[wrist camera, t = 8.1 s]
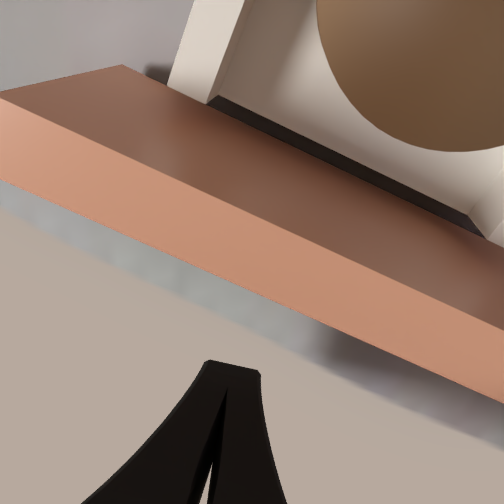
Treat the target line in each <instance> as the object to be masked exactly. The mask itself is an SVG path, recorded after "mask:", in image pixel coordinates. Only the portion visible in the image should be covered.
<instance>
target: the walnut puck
mask: <svg viewBox="0 0 504 504" xmlns="http://www.w3.org/2000/svg"><path fill="white" fill-rule="evenodd" d="M316 15H317V26H318V31H319V36H320V40H321V44H322V47H323V50H324V53H325V56H326V58H327V61H328V64H329V66H330V69H331V71H332V73H333V75H334V77H335V79H336V81H337V83H338V85H339V87H340V89H341V90H342V91H343V93H344V94H345V96H346V97H347V99H348V100H349V101H350V103H351V104H352V105H353V106H354V107H355V108H356V109H357V111H358V112H359V113H360V114H361V115H362V116H363V117H364V118H365V119H367V120H368V121H369V122H370V123H372V124H373V125H374V126H375V127H377V128H378V129H380V130H381V131H383V132H385V133H386V134H388V135H390V136H391V137H393V138H395V139H398V140H400V141H402V142H405V143H407V144H410V145H413V146H417V147H420V148H424V149H428V150H436V151H443V152H470V151H478V150H487V149H491V148H495V147H499V146H503V145H504V0H316Z"/></svg>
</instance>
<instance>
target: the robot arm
mask: <svg viewBox="0 0 504 504" xmlns="http://www.w3.org/2000/svg"><path fill="white" fill-rule="evenodd" d="M212 462H213V463H212ZM211 465H212V470H211V478H210V485H209V492H208V500H207V504H287V502H286V499H285V496H284V493H283V490H282V486H281V483H280V480H279V476H278V473H277V469H276V466H275V462H274V458H273V454H272V450H271V446H270V441H269V437H268V433H267V428H266V423H265V417H264V411H263V404H262V396H261V374H260V373H259V372H258V370H254V369H250V368H245V367H241V366H236V365H232V364H227V363H223V362H218V361H213V360H208V361H206V362H204V364H203V366H202V368H201V370H200V371H199V373H198V375H197V376H196V378H195V380H194V381H193V383H192V384H191V386H190V387H189V389H188V390H187V391H186V393H185V394H184V396H183V397H182V398H181V400H180V401H179V402H178V403H177V405H176V406H175V407H174V409H173V410H172V411H171V413H170V414H169V415H168V416H167V417H166V419H165V420H164V421H163V423H162V424H161V425H160V426H159V427H158V428H157V429H156V430H155V431H154V433H153V434H152V435H151V436H150V437H149V438H148V439H147V441H146V442H145V443H144V444H143V445H142V446H141V447H140V448H139V449H138V451H136V453H135V454H134V455H133V456H132V457H131V458H130V459H129V460H128V461H127V462H126V463H125V464H124V465H123V466H122V467H121V468H120V469H119V470H118V471H117V472H116V473H114V474H113V475H112V476H111V477H110V479H108V480H107V481H106V482H105V483H104V484H103V485H102V486H100V487H99V488H98V489H97V490H96V491H95V492H94V493H93V494H92V495H91V496H89V497H88V498H87V499H86V500H85V501H84V502H82V503H81V504H199V503H200V500H201V497H202V493H203V490H204V487H205V484H206V481H207V478H208V475H209V472H210V468H211Z"/></svg>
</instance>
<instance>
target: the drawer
mask: <svg viewBox="0 0 504 504" xmlns="http://www.w3.org/2000/svg"><path fill="white" fill-rule="evenodd" d="M180 92H181V93H180ZM217 95H220V96H222V97H224V98H226V99H228V100H230V101H232V102H234V103H237V104H239V105H241V106H243V107H245V108H247V109H249V110H251V111H253V112H255V113H257V114H259V115H261V116H263V117H265V118H268V119H270V120H272V121H274V122H276V123H278V124H280V125H282V126H284V127H286V128H288V129H290V130H292V131H294V132H296V133H299V134H301V135H303V136H305V137H307V138H309V139H311V140H313V141H315V142H317V143H319V144H321V145H323V146H325V147H328V148H330V149H332V150H334V151H336V152H338V153H340V154H342V155H344V156H346V157H348V158H350V159H352V160H354V161H356V162H359V163H361V164H363V165H365V166H367V167H369V168H371V169H373V170H375V171H377V172H379V173H381V174H383V175H385V176H387V177H390V178H392V179H394V180H396V181H398V182H400V183H402V184H404V185H406V186H408V187H410V188H412V189H414V190H416V191H418V192H421V193H423V194H425V195H427V196H429V197H431V198H433V199H435V200H437V201H439V202H441V203H443V204H445V205H447V206H449V207H452V208H454V209H456V210H458V211H460V212H462V213H464V214H466V215H468V216H469V218H470V219H471V220H472V222H473V223H474V224H475V225H476V227H477V228H478V229H479V230H480V232H481V233H482V234H483V235H484V237H485V238H486V239H487V240H486V239H484V238H482V237H480V236H478V235H476V234H474V233H472V232H470V231H468V230H466V229H464V228H461V227H459V226H457V225H455V224H453V223H451V222H449V221H447V220H445V219H443V218H441V217H439V216H436V215H434V214H432V213H430V212H428V211H426V210H424V209H422V208H420V207H418V206H416V205H414V204H412V203H409V202H407V201H405V200H403V199H401V198H399V197H397V196H395V195H393V194H391V193H389V192H387V191H384V190H382V189H380V188H378V187H376V186H374V185H372V184H370V183H368V182H366V181H364V180H362V179H359V178H357V177H355V176H353V175H351V174H349V173H347V172H345V171H343V170H341V169H339V168H337V167H335V166H332V165H330V164H328V163H326V162H324V161H322V160H320V159H318V158H316V157H314V156H312V155H310V154H307V153H305V152H303V151H301V150H299V149H297V148H295V147H293V146H291V145H289V144H287V143H285V142H282V141H280V140H278V139H276V138H274V137H272V136H270V135H268V134H266V133H264V132H262V131H260V130H257V129H255V128H253V127H251V126H249V125H247V124H245V123H243V122H241V121H239V120H237V119H235V118H233V117H230V116H228V115H226V114H224V113H222V112H220V111H218V110H216V109H214V108H212V107H210V106H208V105H205V104H207V103H208V102H209V101H210V100H212V99H213V98H214V97H216V96H217ZM0 179H1V180H3V181H6V182H8V183H10V184H12V185H14V186H17V187H19V188H21V189H23V190H26V191H28V192H30V193H32V194H35V195H37V196H39V197H41V198H44V199H46V200H48V201H50V202H53V203H55V204H57V205H59V206H62V207H64V208H66V209H68V210H71V211H73V212H75V213H77V214H80V215H82V216H84V217H86V218H88V219H91V220H93V221H95V222H97V223H100V224H102V225H104V226H106V227H109V228H111V229H113V230H115V231H118V232H120V233H122V234H124V235H127V236H129V237H131V238H133V239H136V240H138V241H140V242H142V243H145V244H147V245H149V246H151V247H154V248H156V249H158V250H160V251H162V252H165V253H167V254H169V255H171V256H174V257H176V258H178V259H180V260H183V261H185V262H187V263H189V264H192V265H194V266H196V267H198V268H201V269H203V270H205V271H207V272H210V273H212V274H214V275H216V276H219V277H221V278H223V279H225V280H228V281H230V282H232V283H234V284H236V285H239V286H241V287H243V288H245V289H248V290H250V291H252V292H254V293H257V294H259V295H261V296H263V297H266V298H268V299H270V300H272V301H275V302H277V303H279V304H281V305H284V306H286V307H288V308H290V309H293V310H295V311H297V312H299V313H302V314H304V315H306V316H308V317H310V318H313V319H315V320H317V321H319V322H322V323H324V324H326V325H328V326H331V327H333V328H335V329H337V330H340V331H342V332H344V333H346V334H349V335H351V336H353V337H355V338H358V339H360V340H362V341H364V342H367V343H369V344H371V345H373V346H376V347H378V348H380V349H382V350H384V351H387V352H389V353H391V354H393V355H396V356H398V357H400V358H402V359H405V360H407V361H409V362H411V363H414V364H416V365H418V366H420V367H423V368H425V369H427V370H429V371H432V372H434V373H436V374H438V375H441V376H443V377H445V378H447V379H450V380H452V381H454V382H456V383H458V384H461V385H463V386H465V387H467V388H470V389H472V390H474V391H476V392H479V393H481V394H483V395H485V396H488V397H490V398H492V399H494V400H497V401H499V402H501V403H503V404H504V145H503V146H499V147H495V148H491V149H487V150H478V151H470V152H443V151H436V150H428V149H424V148H420V147H417V146H413V145H410V144H407V143H405V142H402V141H400V140H398V139H395V138H393V137H391V136H390V135H388V134H386V133H385V132H383V131H381V130H380V129H378V128H377V127H375V126H374V125H373V124H372V123H370V122H369V121H368V120H367V119H365V118H364V117H363V116H362V115H361V114H360V113H359V112H358V111H357V109H356V108H355V107H354V106H353V105H352V104H351V103H350V101H349V100H348V99H347V97H346V96H345V94H344V93H343V91H342V90H341V89H340V87H339V85H338V83H337V81H336V79H335V77H334V75H333V73H332V71H331V69H330V66H329V64H328V61H327V58H326V56H325V53H324V50H323V47H322V44H321V40H320V36H319V31H318V26H317V15H316V0H194V4H193V7H192V10H191V13H190V16H189V19H188V22H187V25H186V28H185V31H184V34H183V37H182V40H181V43H180V46H179V49H178V52H177V55H176V58H175V61H174V64H173V67H172V70H171V73H170V76H169V80H168V83H167V86H166V85H164V84H162V83H160V82H158V81H156V80H153V79H151V78H149V77H147V76H145V75H143V74H141V73H139V72H137V71H135V70H133V69H131V68H128V67H126V66H124V65H117V66H113V67H108V68H104V69H99V70H95V71H90V72H86V73H81V74H77V75H72V76H68V77H63V78H59V79H55V80H50V81H46V82H41V83H37V84H32V85H28V86H23V87H19V88H14V89H10V90H5V91H1V92H0Z"/></svg>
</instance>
